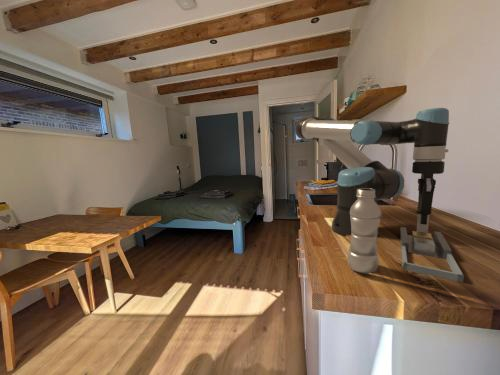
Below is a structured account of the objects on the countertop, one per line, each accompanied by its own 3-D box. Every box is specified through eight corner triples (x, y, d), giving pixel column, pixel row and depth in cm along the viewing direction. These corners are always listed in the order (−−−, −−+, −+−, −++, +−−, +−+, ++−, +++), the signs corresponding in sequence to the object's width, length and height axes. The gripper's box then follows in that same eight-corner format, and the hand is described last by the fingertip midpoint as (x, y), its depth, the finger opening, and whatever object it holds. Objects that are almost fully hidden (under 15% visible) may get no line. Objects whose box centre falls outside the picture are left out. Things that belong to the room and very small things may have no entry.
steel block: (414, 250, 56) (414, 242, 56) (412, 245, 59) (413, 237, 59) (434, 254, 53) (435, 245, 53) (431, 248, 57) (432, 239, 56)
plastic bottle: (341, 264, 52) (344, 188, 49) (366, 262, 52) (370, 186, 50) (357, 278, 45) (360, 192, 43) (385, 276, 46) (390, 190, 43)
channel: (401, 253, 56) (401, 242, 56) (399, 236, 68) (400, 226, 68) (450, 263, 50) (451, 250, 50) (439, 242, 63) (440, 232, 62)
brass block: (412, 244, 60) (413, 235, 59) (411, 239, 63) (412, 230, 63) (431, 248, 57) (432, 238, 57) (429, 242, 61) (430, 233, 60)
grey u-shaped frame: (402, 271, 47) (403, 262, 47) (401, 253, 56) (401, 245, 56) (462, 286, 42) (463, 275, 41) (450, 263, 50) (451, 254, 50)
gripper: (449, 160, 55) (441, 242, 58) (440, 160, 66) (433, 228, 69) (414, 161, 59) (408, 237, 63) (411, 160, 70) (406, 225, 73)
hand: (421, 232), depth 66 cm, fingers closed
